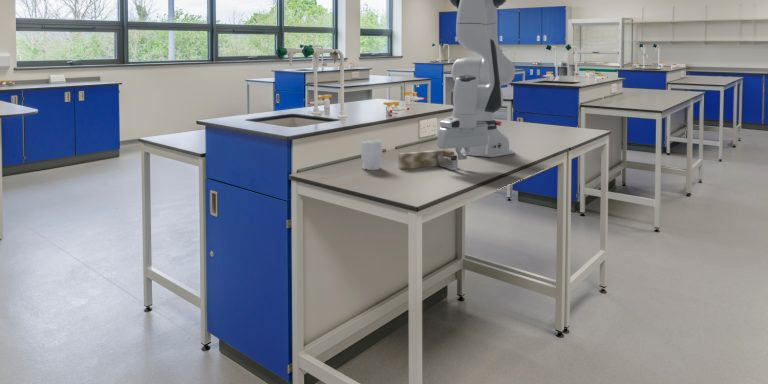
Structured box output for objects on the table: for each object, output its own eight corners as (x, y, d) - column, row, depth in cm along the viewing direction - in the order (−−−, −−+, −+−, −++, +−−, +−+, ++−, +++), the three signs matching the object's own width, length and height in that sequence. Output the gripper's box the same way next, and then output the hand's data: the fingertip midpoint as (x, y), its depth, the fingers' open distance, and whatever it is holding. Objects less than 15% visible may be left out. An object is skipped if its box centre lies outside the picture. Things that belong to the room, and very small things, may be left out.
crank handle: (435, 164, 231) (435, 151, 229) (441, 164, 232) (442, 150, 231) (451, 170, 221) (452, 156, 220) (458, 169, 222) (458, 155, 221)
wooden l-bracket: (445, 163, 235) (445, 149, 234) (453, 166, 230) (454, 151, 229) (398, 168, 226) (398, 153, 225) (406, 171, 221) (406, 156, 220)
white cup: (368, 171, 220) (368, 143, 217) (356, 167, 226) (356, 140, 224) (386, 169, 224) (386, 141, 222) (373, 165, 231) (374, 138, 228)
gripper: (482, 119, 230) (480, 156, 233) (435, 121, 220) (434, 159, 223) (492, 121, 224) (490, 159, 227) (445, 123, 215) (443, 162, 218)
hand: (462, 159), depth 225 cm, fingers closed
